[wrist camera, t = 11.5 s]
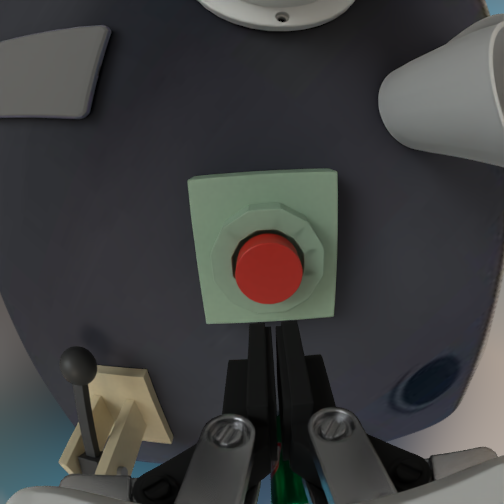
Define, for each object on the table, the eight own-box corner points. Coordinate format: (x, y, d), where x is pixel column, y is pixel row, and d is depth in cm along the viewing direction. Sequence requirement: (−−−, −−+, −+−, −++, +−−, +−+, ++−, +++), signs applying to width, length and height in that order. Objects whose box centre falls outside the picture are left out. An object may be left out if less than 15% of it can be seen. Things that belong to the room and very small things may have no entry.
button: (234, 234, 17) (232, 244, 16) (298, 231, 17) (302, 240, 15) (239, 291, 18) (238, 306, 17) (299, 288, 18) (302, 302, 17)
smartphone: (85, 120, 17) (-30, 119, 16) (91, 120, 18) (-23, 119, 17) (111, 22, 15) (-12, 44, 14) (116, 26, 16) (-6, 45, 14)
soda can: (266, 410, 27) (268, 517, 16) (316, 403, 27) (335, 508, 15) (271, 437, 29) (275, 531, 17) (317, 431, 28) (332, 524, 17)
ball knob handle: (72, 343, 23) (50, 346, 20) (102, 346, 23) (81, 350, 19) (93, 467, 21) (76, 481, 17) (122, 475, 20) (107, 490, 17)
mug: (433, 170, 19) (556, 206, 8) (360, 125, 18) (473, 113, 7) (467, 66, 16) (576, 48, 4) (401, 18, 15) (497, -45, 4)
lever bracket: (71, 361, 26) (23, 434, 16) (146, 369, 25) (109, 461, 15) (106, 427, 30) (79, 493, 19) (173, 436, 29) (155, 513, 19)
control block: (194, 176, 20) (179, 183, 16) (329, 168, 19) (346, 174, 16) (210, 308, 23) (202, 339, 19) (327, 301, 23) (339, 331, 19)
